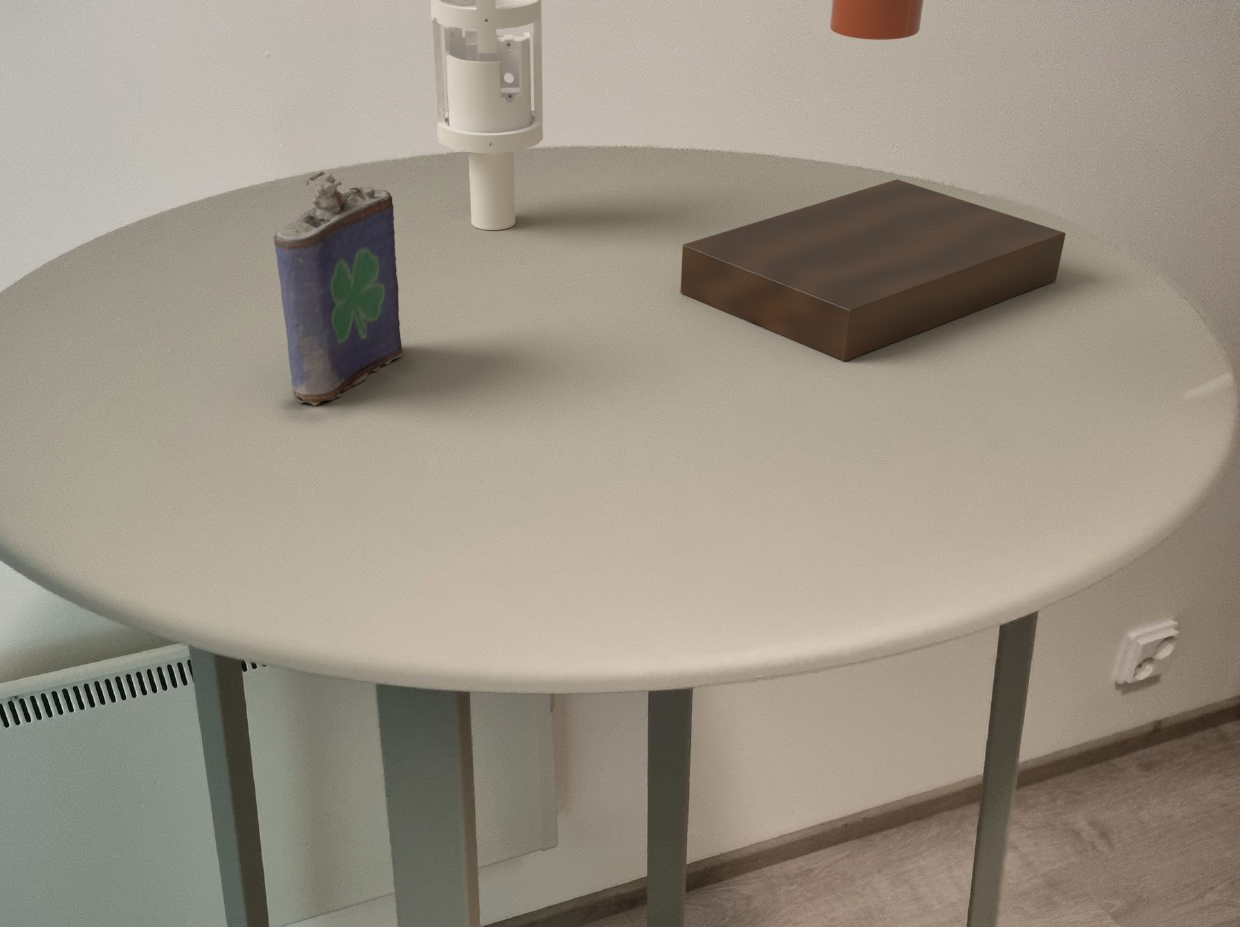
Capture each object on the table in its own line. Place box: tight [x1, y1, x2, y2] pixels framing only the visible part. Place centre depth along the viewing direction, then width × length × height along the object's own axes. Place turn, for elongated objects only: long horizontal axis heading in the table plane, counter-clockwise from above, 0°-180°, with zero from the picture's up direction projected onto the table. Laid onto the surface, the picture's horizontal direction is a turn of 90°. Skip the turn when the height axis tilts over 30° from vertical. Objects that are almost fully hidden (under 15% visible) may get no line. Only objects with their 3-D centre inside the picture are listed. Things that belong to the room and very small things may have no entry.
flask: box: [273, 170, 403, 406], centre depth 82 cm, size 9×3×11 cm, turn 151°
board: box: [680, 179, 1067, 362], centre depth 95 cm, size 14×20×3 cm
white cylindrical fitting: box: [429, 0, 544, 231], centre depth 100 cm, size 7×7×15 cm
